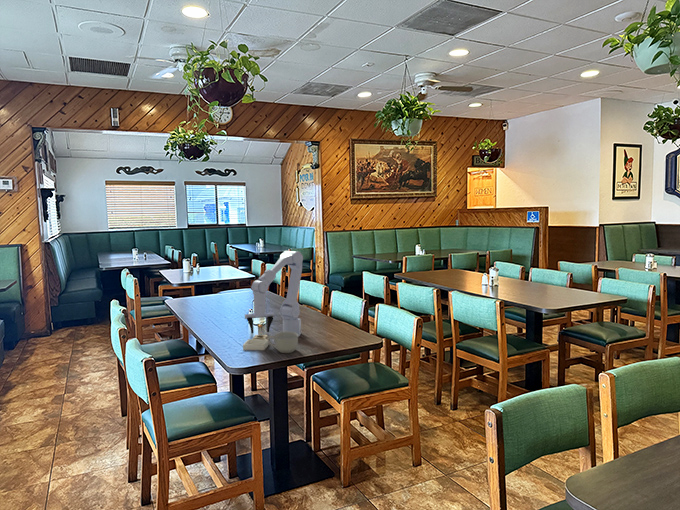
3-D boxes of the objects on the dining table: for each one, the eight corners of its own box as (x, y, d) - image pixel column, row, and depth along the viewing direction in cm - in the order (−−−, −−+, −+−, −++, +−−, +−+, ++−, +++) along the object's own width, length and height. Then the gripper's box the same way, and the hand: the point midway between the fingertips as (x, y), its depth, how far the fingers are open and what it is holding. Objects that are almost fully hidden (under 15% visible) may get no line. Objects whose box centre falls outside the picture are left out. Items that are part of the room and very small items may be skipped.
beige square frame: (267, 340, 232) (267, 335, 232) (265, 344, 226) (264, 338, 226) (255, 340, 233) (255, 334, 233) (252, 344, 227) (252, 337, 227)
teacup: (299, 348, 220) (298, 331, 219) (297, 354, 209) (297, 337, 209) (269, 348, 219) (269, 331, 219) (266, 355, 209) (266, 337, 208)
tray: (268, 344, 226) (268, 339, 226) (264, 350, 216) (264, 345, 216) (248, 344, 226) (248, 339, 226) (243, 350, 216) (242, 344, 216)
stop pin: (263, 341, 231) (263, 324, 230) (262, 343, 228) (262, 325, 228) (258, 341, 231) (258, 324, 230) (257, 343, 228) (257, 325, 228)
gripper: (273, 302, 234) (273, 329, 235) (243, 304, 230) (244, 331, 231) (275, 305, 228) (275, 332, 229) (245, 306, 223) (246, 334, 224)
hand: (260, 332), depth 229 cm, fingers open, 7 cm apart
